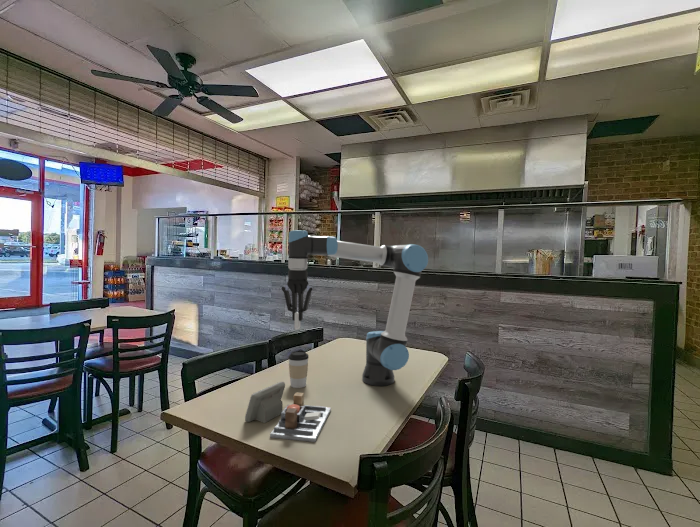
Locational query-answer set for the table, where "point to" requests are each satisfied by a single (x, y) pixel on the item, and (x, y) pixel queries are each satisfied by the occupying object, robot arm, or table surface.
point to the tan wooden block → (298, 399)
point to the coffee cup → (298, 368)
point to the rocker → (312, 416)
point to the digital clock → (266, 403)
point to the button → (294, 407)
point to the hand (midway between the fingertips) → (297, 328)
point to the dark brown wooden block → (291, 418)
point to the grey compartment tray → (302, 425)
